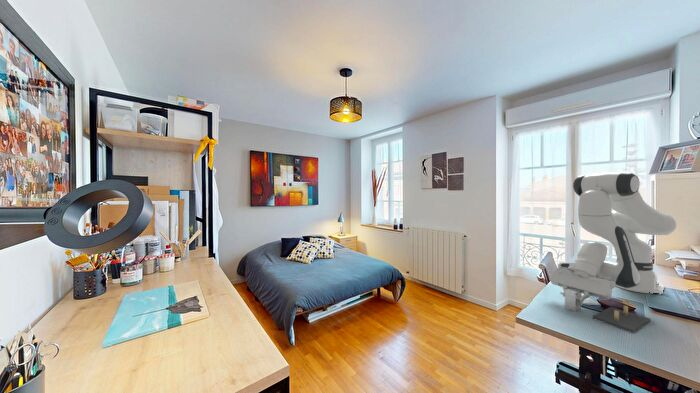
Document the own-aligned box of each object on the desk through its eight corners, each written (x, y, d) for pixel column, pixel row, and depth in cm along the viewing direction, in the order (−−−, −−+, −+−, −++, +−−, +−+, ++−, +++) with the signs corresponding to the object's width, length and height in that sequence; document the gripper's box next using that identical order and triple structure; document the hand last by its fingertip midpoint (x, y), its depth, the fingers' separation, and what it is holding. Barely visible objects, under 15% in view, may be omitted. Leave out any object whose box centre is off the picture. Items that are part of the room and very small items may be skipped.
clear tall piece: (570, 305, 109) (571, 287, 108) (581, 309, 105) (581, 290, 105) (564, 308, 107) (565, 289, 106) (575, 311, 103) (575, 292, 103)
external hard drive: (580, 295, 120) (600, 307, 108) (560, 294, 121) (578, 306, 109) (580, 291, 120) (600, 303, 108) (560, 290, 121) (578, 302, 109)
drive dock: (610, 309, 105) (611, 298, 105) (650, 321, 95) (650, 310, 95) (592, 318, 98) (592, 307, 98) (633, 332, 88) (633, 320, 88)
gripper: (619, 284, 101) (608, 313, 97) (559, 269, 120) (548, 293, 116) (614, 275, 99) (602, 305, 95) (554, 262, 117) (542, 286, 114)
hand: (572, 298), depth 106 cm, fingers closed on clear tall piece, 4 cm apart
